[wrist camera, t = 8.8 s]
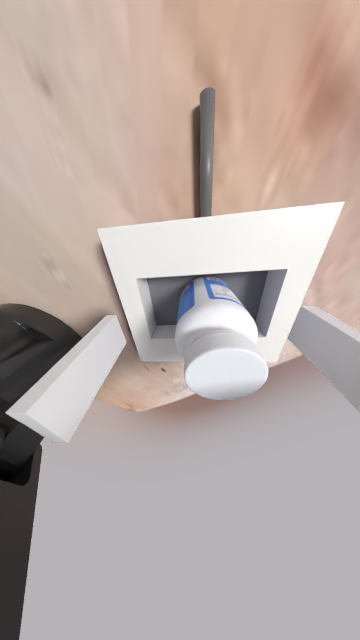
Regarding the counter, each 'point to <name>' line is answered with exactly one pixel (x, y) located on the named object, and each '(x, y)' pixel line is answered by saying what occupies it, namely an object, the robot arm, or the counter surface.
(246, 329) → the pill bottle
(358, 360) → the robot arm
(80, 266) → the counter surface
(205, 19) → the counter surface
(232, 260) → the dock
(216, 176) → the counter surface
